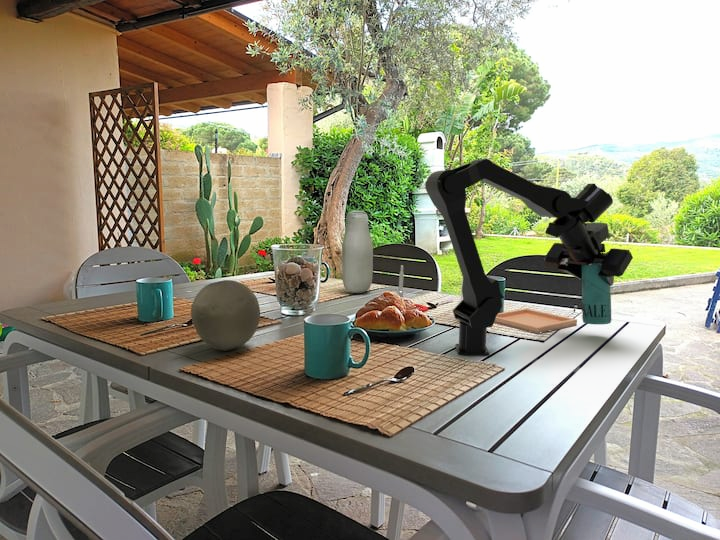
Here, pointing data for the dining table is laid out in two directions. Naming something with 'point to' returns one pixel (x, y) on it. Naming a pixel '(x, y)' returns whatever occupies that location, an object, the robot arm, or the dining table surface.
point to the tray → (533, 320)
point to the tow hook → (400, 292)
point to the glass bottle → (357, 253)
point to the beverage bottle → (595, 295)
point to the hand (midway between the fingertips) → (598, 282)
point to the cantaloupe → (225, 314)
